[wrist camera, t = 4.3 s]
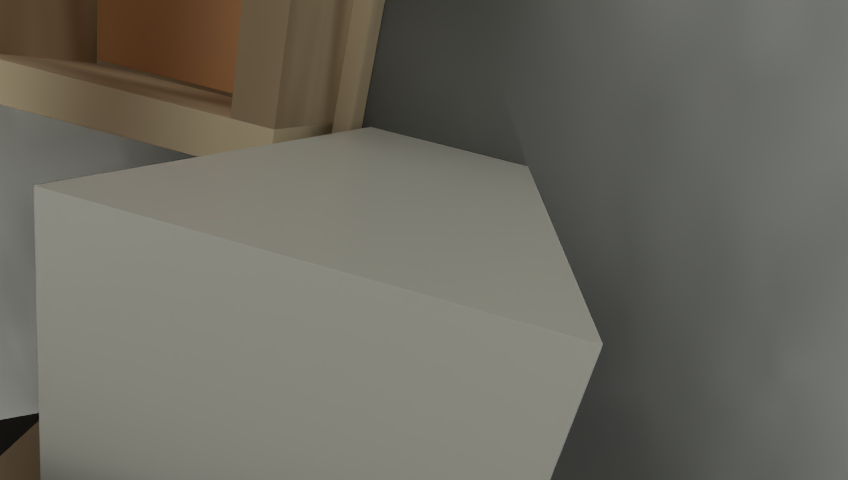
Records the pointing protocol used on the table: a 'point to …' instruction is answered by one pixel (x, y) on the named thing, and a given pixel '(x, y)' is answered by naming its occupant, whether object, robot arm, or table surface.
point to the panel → (307, 317)
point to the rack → (192, 67)
